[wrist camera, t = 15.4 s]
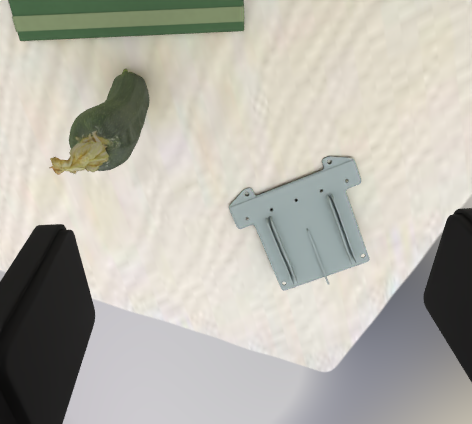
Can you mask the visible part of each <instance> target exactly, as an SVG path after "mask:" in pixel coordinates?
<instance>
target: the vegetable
mask: <svg viewBox="0 0 472 424" xmlns="http://www.w3.org/2000/svg"><path fill="white" fill-rule="evenodd" d="M148 107H149V94H148V89H147V86H146V83H145V81H144V79H143V78H142V77H140V76H138V75H136V74H134V73H132V72H128V71H127V69H125V70H123V73H122V74H121V75H119V76H117V77H116V78H115V79H114V81H113V84H112V87H111V89H110V91H109V94H108V97H107V100H106V101H105V102H104V103H102V104H100V105H98V106H95V107H92V108H90V109H88V110H86V111H84V112H83V113H81V114H80V115H79V116H78V117H77V118H76V119H75V121H74V123H73V124H72V127H71V130H70V136H69V144H70V147H71V150H70V155H71V156H70V158H69V160H60V159H58V158H56V157H54V158H51V159H50V160H51V162H52V164H53V166H52V167H50V168H53V170H54V171H55V173H56V174H61V173H62V172H64V171H70V172H71V173H75V174H76V171H82V170H84V169H86V170H87V171H88V172H89V171H91V172H95V171H105V170H111V169H113V168H115V167H117V166H119V165H121V164H123V163H124V162H125V161H126V160H127V159H128V158H129V156H130V155H131V153H132V151H133V149H134V147H135V145H136V143H137V141H138V139H139V137H140V133H141V130H142V128H143V125H144V121H145V117H146V113H147V110H148Z"/></svg>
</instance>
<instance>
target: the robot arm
mask: <svg viewBox="0 0 472 424" xmlns="http://www.w3.org/2000/svg"><path fill="white" fill-rule="evenodd" d="M424 303H425V306H426V308H427V310H428V312H429V313H430V315H431V317H432V318H433V320H434V322H435V323H436V325H437V326H438V328H439V330H440V331H441V333H442V334H443V336H444V338H445V339H446V341H447V343H448V344H449V346H450V348H451V349H452V351H453V352H454V354H455V356H456V357H457V359H458V361H459V362H460V364H461V366H462V367H463V368H464V370H465V372H466V374H467V375H468V377H469V379H470V380H471V382H472V208H469V209H468V208H467V209H458V210H456V211H455V212H454V214H453V215H450V216H449V217H448V219H447V221H446V224H445V228H444V231H443V234H442V238H441V240H440V244H439V247H438V250H437V253H436V256H435V260H434V263H433V266H432V269H431V272H430V276H429V279H428V282H427V286H426V288H425V292H424ZM94 322H95V310H94V305H93V302H92V298H91V294H90V290H89V287H88V283H87V279H86V276H85V272H84V268H83V265H82V261H81V257H80V254H79V250H78V246H77V243H76V239H75V235H74V233H73V231H72V230H66V228H65V226H64V225H62V224H56V225H38V226H36V228H35V229H34V230H33V232H32V233H31V235H30V237H29V238H28V240H27V241H26V243H25V244H24V246H23V247H22V249H21V250H20V252H19V254H18V255H17V257H16V258H15V260H14V261H13V263H12V264H11V266H10V267H9V269H8V271H7V272H6V274H5V275H4V277H3V278H2V280H1V281H0V424H62V423H63V420H64V417H65V414H66V411H67V407H68V404H69V401H70V398H71V395H72V392H73V389H74V385H75V382H76V379H77V376H78V373H79V370H80V366H81V363H82V360H83V357H84V354H85V351H86V348H87V344H88V341H89V338H90V335H91V332H92V329H93V325H94Z"/></svg>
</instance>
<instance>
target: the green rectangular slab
mask: <svg viewBox="0 0 472 424" xmlns="http://www.w3.org/2000/svg"><path fill="white" fill-rule="evenodd" d="M8 1H9V4H10V8H11V11H12V15H13V16H12V18H13V22H14V25H15V29H16V32H18V35H19V39H20V41H32V40H54V39H76V38H98V37H121V36H143V35H165V34H187V33H209V32H231V31H244V4H243V0H8Z"/></svg>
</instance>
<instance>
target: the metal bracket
mask: <svg viewBox="0 0 472 424" xmlns="http://www.w3.org/2000/svg"><path fill="white" fill-rule="evenodd" d="M328 160H331V161H332V163H331V164H328V163H327V161H328ZM322 163H323V166H324V169H323V170H322V171H319V172H316V173H314V174H311V175H309V176H306V177H303V178H301V179H298V180H296V181H293V182H291V183H288V184H285V185H283V186H280V187H278V188H275V189H273V190H270V191H267V192H265V193H262V194H260V195H255V194H254V192H253V190H252V189H251V188H247V189H244V190H243V191H242V192H241V193H240V195H239V196H238V197H237V198H236V199H235V200H234V201H233V202H232V203H231V205H230V206H229V209H230V212H231V214H232V217H233V219H234V221H235V224H236V226H237V227H238V228H239V229H242V228H245V227H247V226H250V225H254V226H255V227H256V230H257V232H258V234H259V237H260V239H261V242H262V244H263V246H264V249H265V251H266V253H267V256H268V258H269V261H270V263H271V265H272V268H273V270H274V272H275V275H276V277H277V280H278V282H279V284H280V287H281V289H282V290H288V289H290V288H293V287H296V286H299V285H302V284H305V283H308V282H311V281H314V280H316V279H319V278H322V277H325V279H326V281H327V284H329V282H328V279H327V277H326V276H328V275H331V274H334V273H337V272H340V271H342V270H345V269H348V268H351V267H354V266H357V265H360V264H363V263H366V262H368V261H369V256H368V253H367V250H366V248H365V245H364V242H363V239H362V236H361V233H360V231H359V228H358V225H357V222H356V219H355V216H354V214H353V211H352V208H351V205H350V202H349V199H348V197H347V194H346V190H347V189H348V188H351V187H353V186H356V185H359V184H360V183H361V178H360V175H359V172H358V169H357V166H356V163H355V161H354V159H353V158H344V157H332V156H328V157H326V158H324V159H323V160H322ZM346 179H348V182H345V180H346ZM320 189H322V190H323V191H322V192H320ZM246 192H248V193H249V196H245V193H246ZM295 199H298V201H297V202H295ZM271 208H273V211H270V209H271ZM247 217H248V218H249V220H246V218H247ZM362 254H365V257H361V255H362ZM284 281H285V282H286V284H285V285H283V284H282V282H284Z"/></svg>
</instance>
